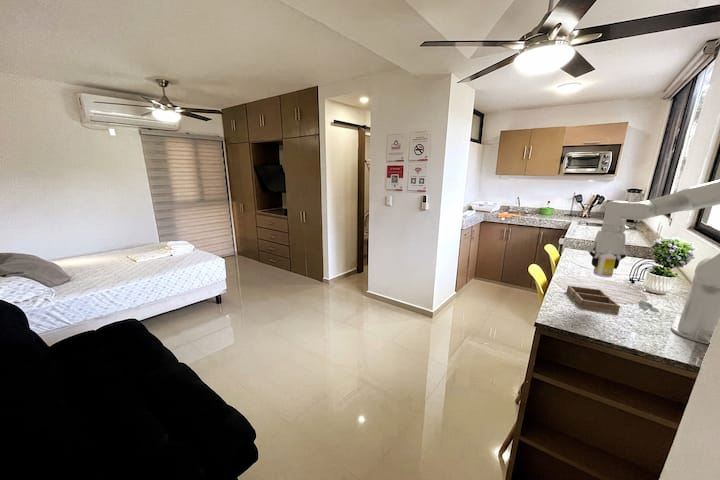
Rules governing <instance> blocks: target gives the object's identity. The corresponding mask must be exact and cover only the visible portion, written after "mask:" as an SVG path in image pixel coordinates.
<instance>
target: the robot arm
mask: <svg viewBox="0 0 720 480" xmlns="http://www.w3.org/2000/svg"><path fill="white" fill-rule="evenodd" d="M718 205H720V179H717V180H713V181H710V182H705V183H702V184H698V185H695V186H694V185H693V186H690V187H687V188H683V189H681V190H679V191H676V192H673V193H670V194H666V195H663V196H659V197H656V198H652V199H648V200H644V201H637V202H636V201H635V202H629V201H625V200H610V201H608V202H607V203H606V206H605V211H604V215H603V220H602V223H601V224H602V225H601V229H599V230H598V231H597V233H596V235H595V238H594V241H593V243H592V244H591V245H590V246H588V247H586V248H585V250H586V252H587V253H588V254H589V255H590V256H591V257H592V260H591V265H592V266H593V267H597V264H598V256H599V255H600V254H601V253H604V254H605V253H608V251H609V250H611V251H612V252H611V254H614V255H615V256H616V261H615V266H614V270H618V267H619V265H620V262H621V261H622V260H623V259H624V258H626V257H627V256H630V255H631V251H630V250H629V249H627V248H626V247H625V246H626V233H625V231H628V230H629V227H628V226H626V223H627V219H628V220H629V219H630V220H633V221H644V220H647V219H650V218H655V217H658V216H663V215H668V214H674V213H678V212H684V211H685V212H686V211H695V210H701V209H704V208H708V207H709V208H710V207H713V206H718ZM593 251H594V252H593ZM719 315H720V253H718V254H717V255H715V256H710V257H707V258H704V259H702V260H701V261H700V262H698V263H697V265H696V267H695V269H694V274H693V278H692V282H691V284H690V288H689V290H688V294H687V297H686V299H685V303H684V305H683V309H682V312H681V316H680V318H679V322H678V324H673V325H671V327H670V329H671V331H672V332H673V333H675V334H676V335H678V336H680V337H683V338H685V339H687V340H689V341H693V342H697V343H700V344H705V345H710V344H709V343H710V340H711V337H712V334H713V331H714V329H715V326H716V324H717V321H718V317H719Z"/></svg>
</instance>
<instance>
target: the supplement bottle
mask: <svg viewBox="0 0 720 480" xmlns="http://www.w3.org/2000/svg"><path fill="white" fill-rule="evenodd" d="M611 252H612V251H611V250H609V251H608V253H605V254H604V253H601V254H600V255H599V256H598V264H597V267H594V266H593V267H594V268H593V274H594V276H598V277H601V278H606V279H607V278H612V277H613V275H614V270H615V269H614V266H615V261H616V256H615V255H614V254H611Z"/></svg>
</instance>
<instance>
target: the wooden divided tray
mask: <svg viewBox="0 0 720 480" xmlns="http://www.w3.org/2000/svg"><path fill="white" fill-rule="evenodd" d="M566 292H567V294H568V295H569V296H570V298H572V300H573V301H575V303H576V304H577V305H578V306H579V307H580V308H581V309H582V308H583V309H589V310H597V311H603V312H609V313H614V314H615V313H616V314H618V313H620V307H621V305H620V304H618V303H617V302H616V301H615V300H614V299H612V298H611V297H610V296H609V295H608V294H606V293H605V292H604V291H602V290H601V289H599V288H597V289H596V288H590V287H582V286H576V285H567V288H566Z"/></svg>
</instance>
